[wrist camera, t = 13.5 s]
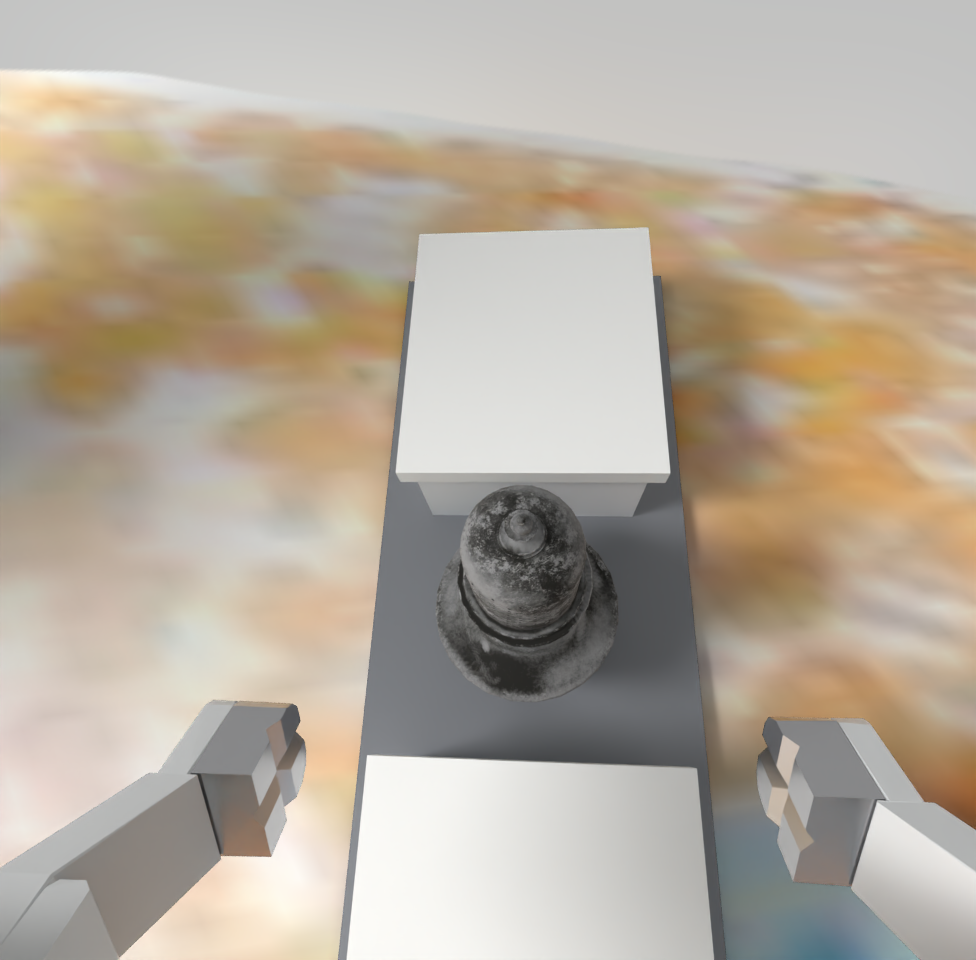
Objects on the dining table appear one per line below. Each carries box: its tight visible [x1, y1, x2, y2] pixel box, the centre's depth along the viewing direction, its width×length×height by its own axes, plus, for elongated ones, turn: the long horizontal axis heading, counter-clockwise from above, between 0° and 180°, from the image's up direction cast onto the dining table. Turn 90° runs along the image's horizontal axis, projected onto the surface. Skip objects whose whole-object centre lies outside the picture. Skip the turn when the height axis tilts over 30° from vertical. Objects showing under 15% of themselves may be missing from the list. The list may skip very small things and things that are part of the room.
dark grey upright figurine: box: [435, 485, 619, 702], centre depth 17 cm, size 6×6×12 cm
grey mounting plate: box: [338, 228, 726, 960], centre depth 21 cm, size 12×33×5 cm, turn 178°
